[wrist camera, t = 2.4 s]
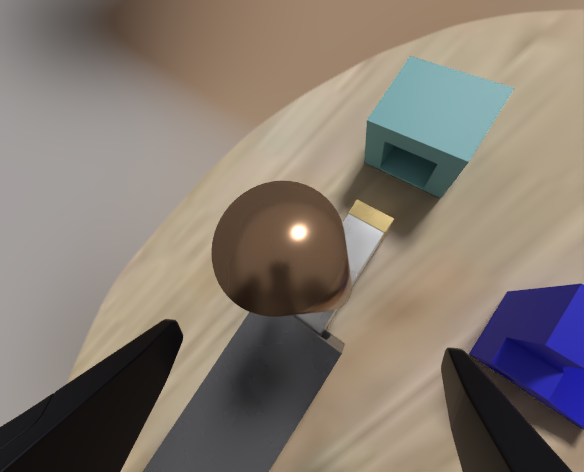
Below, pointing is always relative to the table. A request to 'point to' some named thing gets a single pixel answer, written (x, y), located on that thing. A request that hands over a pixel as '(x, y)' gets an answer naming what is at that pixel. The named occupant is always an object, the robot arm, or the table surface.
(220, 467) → the gray rectangular tube
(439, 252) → the table surface
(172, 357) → the robot arm
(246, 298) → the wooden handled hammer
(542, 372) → the cable clip
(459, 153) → the teal block with slot
